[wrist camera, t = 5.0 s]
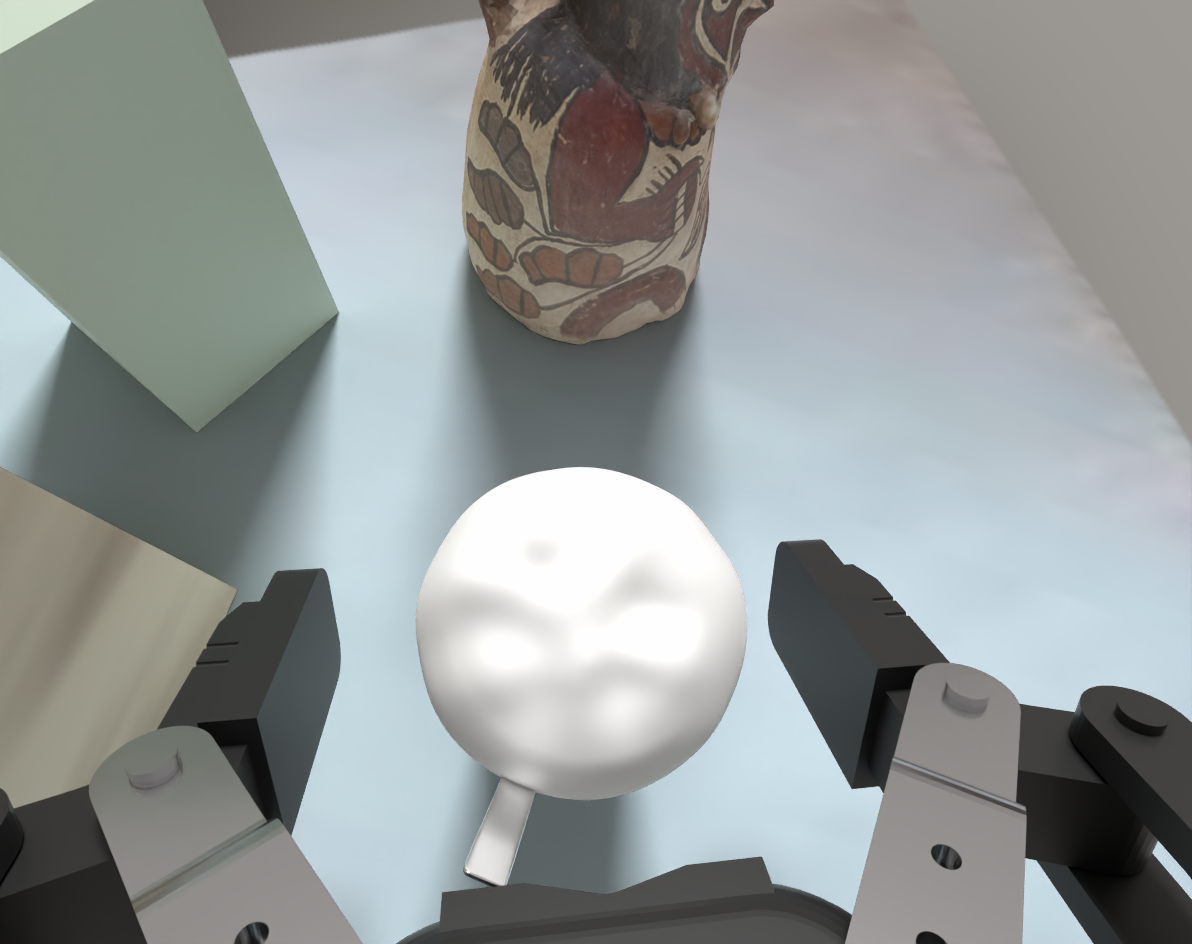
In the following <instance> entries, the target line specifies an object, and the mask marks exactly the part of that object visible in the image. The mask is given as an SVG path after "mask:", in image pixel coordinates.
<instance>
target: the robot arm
mask: <svg viewBox="0 0 1192 944" xmlns="http://www.w3.org/2000/svg"><path fill="white" fill-rule="evenodd" d="M768 626H769V633H770V637H771V640H772V643H773V646H774V648H775V650H776V652H777V653H778V655H779V657H780V659H781V661H782V662H783V664H784V666H785V668H786V670H787V672H788V673H789V675H790V677H791V679H792V681H793V683H794V684H795V686H796V688H797V690H798V692H799V693H800V695H801V697H802V699H803V701H804V703H805V704H806V706H807V708H808V710H809V712H810V714H811V715H812V717H813V719H814V721H815V723H816V724H817V726H818V728H819V730H820V732H821V734H822V735H823V737H824V739H825V741H826V743H827V745H828V746H829V748H830V750H831V752H832V754H833V756H834V757H835V759H836V761H837V763H838V765H839V766H840V768H841V770H842V772H843V774H844V776H845V777H846V779H847V781H848V783H849V785H850V787H851V788H852V789H857V788H866V787H876V786H879V787H880V788H881V790H882V792H883V793H884V794H883V798H882V802H881V806H880V810H879V814H878V818H877V822H876V825H875V829H874V833H873V837H872V841H871V845H870V849H869V853H868V856H867V860H866V864H865V868H864V872H863V876H862V880H861V883H860V887H859V891H858V895H857V899H856V903H855V907H854V911H853V914H852V915H851V914H850V913H848V912H847V911H845V910H843V909H842V908H840V907H839V906H837V905H834V904H832V903H830V902H828V901H826V900H824V899H822V898H820V897H818V896H815V895H813V894H810V893H807V892H805V891H802V890H799V889H795V888H791V887H787V886H783V885H778V884H772V882H771V880H770V877H769V874H768V872H767V869H766V866H765V863H764V861H763V858H762V857H754V858H745V859H737V860H728V861H719V862H710V863H701V864H692V865H686V866H683V867H680V868H678V869H675V870H673V871H670V872H667V873H665V874H662V875H660V876H657V877H655V878H652V879H649V880H647V881H644V882H642V883H639V884H637V885H634V886H631V887H629V888H626V889H624V890H621V891H618V892H615V893H611V894H598V893H591V892H583V891H576V890H569V889H561V888H554V887H547V886H539V885H532V884H524V883H523V884H514V885H505V886H496V887H488V888H479V889H470V890H461V891H452V892H443V893H442V902H441V915H440V922H437V923H434V924H432V925H429V926H427V927H425V928H423V929H421V930H419V931H417V932H415V933H413V934H411V935H409V936H407V937H405V938H404V939H402V940H401V941H399V942H398V943H396V944H1022V932H1023V905H1024V877H1025V858H1028V859H1033V860H1037V862H1038V863H1039V865H1040V866H1041V867H1042V869H1043V870H1044V872H1045V873H1046V875H1047V876H1048V878H1049V879H1050V881H1051V882H1052V884H1053V885H1054V886H1055V888H1056V889H1057V891H1058V892H1059V894H1060V895H1061V897H1062V898H1063V900H1064V901H1065V903H1066V904H1067V905H1068V907H1069V908H1070V910H1071V911H1072V913H1073V914H1074V916H1075V917H1076V919H1077V920H1078V922H1079V923H1080V924H1081V926H1082V927H1083V929H1084V930H1085V932H1086V933H1087V935H1088V936H1089V938H1090V939H1091V941H1092V942H1093V943H1094V944H1192V899H1191V898H1190V897H1189V896H1188V895H1187V893H1186V892H1185V891H1184V890H1183V889H1182V888H1181V886H1180V885H1179V884H1178V883H1177V882H1176V880H1175V879H1174V878H1173V877H1172V876H1171V875H1170V873H1169V872H1168V871H1167V870H1166V869H1165V868H1164V866H1163V865H1162V864H1161V863H1160V862H1159V861H1158V859H1157V858H1156V857H1155V856H1154V855H1153V854H1152V852H1153V850H1154V848H1155V846H1156V844H1157V841H1159V842H1160V843H1161V844H1162V845H1163V846H1164V848H1165V849H1166V850H1167V851H1168V852H1169V853H1170V854H1171V856H1172V857H1173V858H1174V859H1175V860H1176V861H1177V862H1178V864H1179V865H1180V866H1181V867H1182V868H1183V869H1184V870H1185V871H1186V873H1187V874H1188V875H1189V876H1190V878H1191V879H1192V722H1191V721H1189V720H1188V719H1187V718H1186V717H1185V716H1184V715H1182V714H1181V713H1180V712H1178V711H1177V710H1175V709H1174V708H1172V707H1171V706H1169V705H1168V704H1166V703H1164V702H1162V701H1160V700H1158V699H1156V698H1154V697H1152V696H1149V695H1147V694H1144V693H1142V692H1138V691H1135V690H1132V689H1128V688H1123V687H1117V686H1096V687H1092V688H1089V689H1088V690H1086V691H1084V693H1083V694H1082V695H1081V698H1080V700H1079V703H1078V706H1077V708H1076V711H1075V712H1070V711H1063V710H1056V709H1049V708H1043V707H1036V706H1029V705H1024V704H1019V702H1018V700H1017V699H1016V697H1015V696H1014V694H1013V693H1012V692H1011V691H1010V690H1009V689H1008V688H1007V687H1006V686H1005V685H1004V684H1003V683H1001V682H1000V681H998V680H997V679H995V678H994V677H992V676H990V675H988V674H986V673H984V672H982V671H980V670H977V669H974V668H972V667H968V666H964V665H960V664H954V663H950V662H949V661H948V660H947V659H946V658H945V657H944V655H943V654H942V653H941V652H940V651H939V650H938V648H937V647H936V646H935V645H934V644H933V643H932V642H931V640H930V639H929V638H928V637H927V636H926V635H925V634H924V632H923V631H922V630H921V629H920V628H919V627H918V626H917V624H916V623H915V622H914V621H913V620H912V619H911V617H910V616H906V612H905V611H904V609H903V608H902V607H901V606H900V605H899V604H898V603H897V601H893V597H892V596H891V595H890V593H889V592H888V591H887V590H886V589H885V588H884V586H883V585H882V584H881V583H880V582H879V581H878V580H877V579H876V578H874V577H873V576H871V575H869V574H868V573H866V572H865V571H863V570H861V569H860V568H858V567H856V566H855V565H853V564H849V565H844V564H843V563H842V562H841V561H840V559H839V558H838V557H837V556H836V554H835V553H834V552H833V551H832V550H831V548H830V547H829V546H828V545H827V543H826V542H825V541H823V540H820V539H819V540H803V541H786V542H781V543H780V544H779V545H778V547H777V550H776V555H775V562H774V570H773V578H772V586H771V593H770V601H769V609H768ZM206 645H207V647H206V649H203V651H202V653H201V654H200V656H199V658H198V660H197V661H196V667H193V668H192V670H191V672H190V673H189V675H188V677H187V678H186V680H185V682H184V684H183V685H182V687H181V689H180V690H179V692H178V694H177V696H176V697H175V699H174V701H173V702H172V704H171V706H170V708H169V709H168V711H167V713H166V714H165V716H164V718H163V720H162V721H161V723H160V725H159V726H158V728H157V730H155V731H152V732H149V733H146V734H144V735H141V736H139V737H137V738H135V739H133V740H131V741H129V742H128V743H126V744H125V745H123V746H121V747H120V748H118V749H117V750H116V751H115V752H113V753H112V754H111V755H110V756H109V757H108V758H107V759H106V760H104V761H103V763H102V764H101V765H100V766H99V767H98V769H97V770H96V772H95V773H94V775H93V777H92V779H91V782H90V784H89V785H86V786H83V787H81V788H78V789H75V790H72V791H68V792H65V793H62V794H59V795H56V796H52V797H49V798H46V799H43V800H39V801H36V802H33V803H30V804H27V805H23V806H20V807H17V808H13V806H12V804H11V801H10V799H9V797H8V795H7V794H6V792H5V791H4V790H3V789H1V788H0V944H363V943H362V942H361V940H360V939H359V937H358V936H357V934H356V933H355V931H354V930H353V928H352V927H351V925H350V924H349V922H348V921H347V919H346V918H345V916H344V915H343V913H342V912H341V910H340V909H339V907H338V906H337V904H336V903H335V901H334V900H333V898H332V897H331V895H330V894H329V892H328V891H327V889H326V888H325V886H324V885H323V883H322V882H321V880H320V879H319V877H318V876H317V874H316V873H315V871H314V870H313V868H312V867H311V865H310V864H309V862H308V861H307V859H306V858H305V856H304V855H303V853H302V852H301V850H300V849H299V847H298V846H297V844H296V843H295V841H294V840H293V838H292V837H291V835H292V832H293V828H294V825H295V822H296V818H297V815H298V812H299V808H300V805H301V802H302V798H303V795H304V792H305V788H306V785H307V782H308V778H309V775H310V772H311V768H312V765H313V762H314V758H315V755H316V752H317V748H318V745H319V742H320V738H321V735H322V732H323V728H324V725H325V722H326V718H327V715H328V712H329V708H330V705H331V702H332V698H333V695H334V692H335V688H336V685H337V682H338V678H339V672H340V661H341V652H340V641H339V635H338V629H337V624H336V618H335V613H334V607H333V602H332V596H331V590H330V585H329V580H328V576H327V573H326V571H325V570H324V569H323V568H319V569H302V570H286V571H277V572H276V573H275V574H274V576H273V578H272V579H271V581H270V583H269V585H268V587H267V589H266V591H265V593H264V595H263V597H262V599H261V601H259V602H243V603H242V604H241V605H240V606H239V607H237V608H236V609H235V610H234V611H232V612H231V613H230V614H229V615H228V616H226V617H225V618H224V619H223V620H221V621H220V622H219V624H218V625H217V627H216V629H215V630H214V632H213V634H212V636H211V637H210V639H209V641H208V642H207V644H206Z"/></svg>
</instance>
